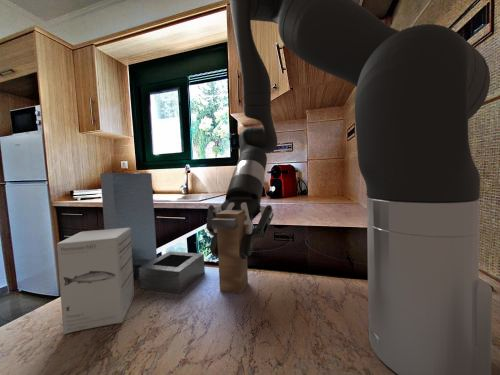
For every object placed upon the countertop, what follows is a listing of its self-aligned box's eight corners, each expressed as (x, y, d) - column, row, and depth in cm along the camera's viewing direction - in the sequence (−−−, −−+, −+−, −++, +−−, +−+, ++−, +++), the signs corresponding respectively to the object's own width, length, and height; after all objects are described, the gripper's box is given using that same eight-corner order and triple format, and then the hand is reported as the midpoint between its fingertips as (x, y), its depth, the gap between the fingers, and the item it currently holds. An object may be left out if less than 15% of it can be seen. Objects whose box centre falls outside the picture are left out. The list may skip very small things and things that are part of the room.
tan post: (247, 282, 41) (244, 210, 40) (237, 299, 35) (233, 215, 34) (228, 280, 42) (225, 210, 41) (215, 296, 36) (211, 215, 36)
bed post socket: (206, 270, 47) (200, 170, 46) (178, 295, 37) (170, 169, 36) (147, 264, 51) (141, 173, 50) (108, 285, 42) (100, 173, 41)
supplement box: (61, 336, 28) (52, 243, 28) (87, 305, 36) (81, 230, 35) (123, 324, 30) (116, 237, 30) (136, 296, 37) (131, 225, 37)
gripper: (212, 174, 48) (183, 243, 37) (275, 170, 43) (264, 248, 32) (223, 195, 53) (200, 262, 42) (280, 194, 49) (272, 268, 38)
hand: (228, 255), depth 37 cm, fingers open, 5 cm apart
